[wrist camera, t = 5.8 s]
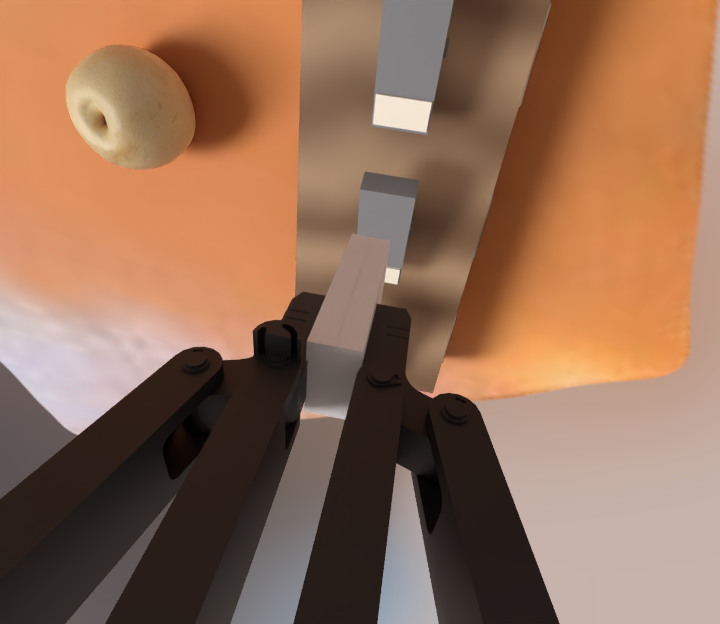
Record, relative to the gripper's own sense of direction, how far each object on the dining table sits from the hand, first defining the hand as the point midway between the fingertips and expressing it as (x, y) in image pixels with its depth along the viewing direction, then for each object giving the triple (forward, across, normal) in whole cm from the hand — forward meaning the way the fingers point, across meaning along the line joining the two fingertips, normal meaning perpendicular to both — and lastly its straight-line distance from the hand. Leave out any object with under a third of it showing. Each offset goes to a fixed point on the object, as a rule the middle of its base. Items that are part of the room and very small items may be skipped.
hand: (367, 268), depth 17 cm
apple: (+19, -19, 0) cm, 27 cm away
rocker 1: (+11, 0, +7) cm, 13 cm away
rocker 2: (+11, 0, -4) cm, 12 cm away
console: (+19, 0, -4) cm, 19 cm away
